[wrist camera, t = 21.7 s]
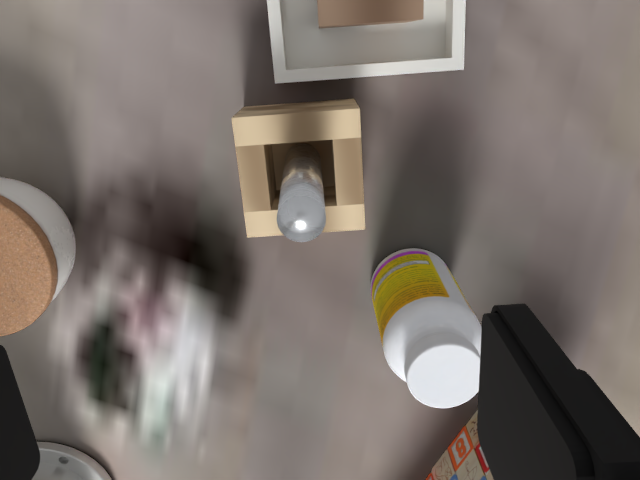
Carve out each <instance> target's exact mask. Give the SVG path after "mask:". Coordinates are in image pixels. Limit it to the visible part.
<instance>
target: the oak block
mask: <svg viewBox="0 0 640 480" xmlns="http://www.w3.org/2000/svg"><path fill="white" fill-rule="evenodd" d="M232 125H233V132H234V140H235V148H236V155H237V163H238V170H239V178H240V186H241V193H242V201H243V209H244V216H245V224H246V232H247V238H248V237H263V236H277V235H283V234H282V233H281V231H280V230H279V228H278V225H277V212H278V205H279V198H280V191H281V184H282V177H283V170H284V163H285V156H286V153H287V151H288V150H289V149H290V148H291V147H292V146H293V145H295V144H298V143H307V144H310V145H312V146H313V147H315V148H316V150H317V151H318V153H319V155H320V161H321V172H322V182H323V192H324V202H325V213H326V224H325V227H324V229H323V231H322V232H335V231H350V230H364V229H365V215H364V192H363V169H362V146H361V124H360V108H359V106H358V105H357V103H356V101H355V100H354V99H340V100H327V101H314V102H300V103H287V104H274V105H260V106H247V107H243V108H242V109H241V110H240V111H239V112H238V113H237V114H235V115H234V116H233V117H232Z"/></svg>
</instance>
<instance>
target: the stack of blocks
mask: <svg viewBox="0 0 640 480" xmlns="http://www.w3.org/2000/svg"><path fill="white" fill-rule="evenodd" d="M477 417H478V410H477V411H476V412H475V414H474V415H473V416H472V418H471V419H470V420H469V422H468V423H467V424H466V425H465V426H464V427H463V428H462V430H461V431H460V432H459V433H458V435H457V436H456V437H455V439H454V440H453V441H452V443H451V444H450V445H449V447H448V449H447V450H446V451H445V452H444V453H443V454H442V456H441V457H440V459H439V460H438V461H437V463H436V464H435V465H434V467H433V468H432V470H431V473H430V474H429V475H428V477H427V478H426V480H494V479H493V477H492V474H491V472H490V469H489V466H488V464H487V461H486V459H485V456H484V454H483V451H482V449H481V446H480V443H479V439H478V432H477Z"/></svg>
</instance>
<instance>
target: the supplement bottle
mask: <svg viewBox="0 0 640 480" xmlns="http://www.w3.org/2000/svg"><path fill="white" fill-rule="evenodd" d="M371 296H372V301H373V305H374V310H375V314H376V318H377V323H378V327H379V332H380V336H381V341H382V346H383V350H384V354H385V358H386V360H387V362H388V364H389V366H390V368H391V369H392V370H393V372H394V373H395V374H396V375H397V376H398V377H400V378H401V379H402V380H404V381H405V382H407V385H408V388H409V390H410V392H411V393H412V395H413V396H414V397H415V398H416V399H417V400H418V401H420V402H421V403H423V404H425V405H427V406H430V407H434V408H451V407H455V406H458V405H461V404H463V403H465V402H467V401H468V400H470V399H471V398H472V397H473V396H475V395H476V393H477V392H478V391H479V374H480V353H481V332H482V327H481V325H480V323H479V321H478V319H477V317H476V315H475V314H474V312H473V310H472V309H471V307H470V305H469V303H468V302H467V300H466V298H465V296H464V295H463V293H462V291H461V289H460V288H459V286H458V284H457V282H456V280H455V279H454V277H453V275H452V273H451V272H450V270H449V268H448V267H447V265H446V264H445V263H444V261H443V260H442V259H441V258H440V257H438V256H437V255H435V254H434V253H432V252H430V251H427V250H423V249H417V248H409V249H403V250H399V251H397V252H394V253H392V254H391V255H389V256H388V257H386V258H385V259H384V260H383V261H382V262H381V263H380V264H379V265H378V267H377V268H376V270H375V272H374V274H373V277H372V280H371Z"/></svg>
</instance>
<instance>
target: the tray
mask: <svg viewBox="0 0 640 480" xmlns="http://www.w3.org/2000/svg"><path fill="white" fill-rule="evenodd" d="M267 7H268V17H269V28H270V38H271V48H272V58H273V69H274V79H275V84H276V83H290V82H303V81H317V80H330V79H344V78H357V77H371V76H384V75H398V74H411V73H425V72H438V71H452V70H464V46H465V9H466V0H424V15H423V19H422V20H417V21H412V22H406V23H392V24H377V25H363V26H349V27H334V28H320V29H319V25H318V9H317V0H267Z"/></svg>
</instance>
